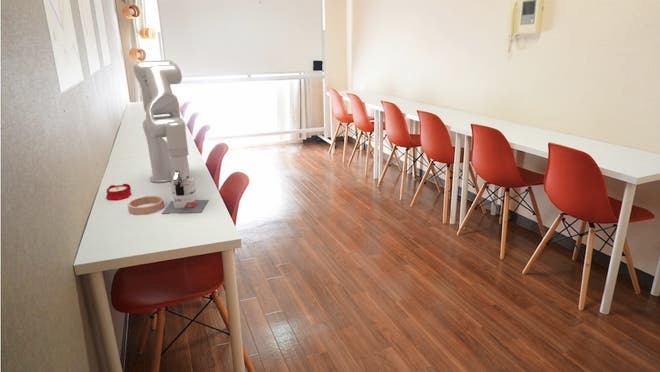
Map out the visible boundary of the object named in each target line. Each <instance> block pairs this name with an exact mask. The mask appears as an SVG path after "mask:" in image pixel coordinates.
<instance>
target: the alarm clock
mask: <svg viewBox="0 0 660 372" xmlns="http://www.w3.org/2000/svg"><path fill="white" fill-rule="evenodd" d="M131 188H132V187H131V185H130V184H129V183H123V184H121V185H119V184H118V185H114V184H112V185H111V184H110V186H109V185H108V188H107V189H106V200H110V201H120V200H124V199H127V198H129V197H131V195H132V192H131V191H132V190H131Z"/></svg>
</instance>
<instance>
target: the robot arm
mask: <svg viewBox="0 0 660 372" xmlns="http://www.w3.org/2000/svg"><path fill="white" fill-rule="evenodd" d="M179 67H180V66H179V65H178V64H176V63H175V62H174V61H172V60H169V59H168V60H143V61H142V60H141V61H138V62H135V63H134V64H133V73H134V76H135V78H136V79H137V81H138V83H139V85H140V88H141V98H142V104H143V110H144V112H145V118H146V119H144V120H143V122H142V128H143V132H144V136H145V138H146V141H147V142H146V143H147V147H148V154H149V161H150V168H151V173H152V176H151V177H149V181H150V182H151V183H155V184H156V183H159V184H161V183H162V184H163V183H168V182H171V181H172V180H173V181H174V184H175V190H176V195H177V196H184V187H183V186H182V184H183V180H185V179H186V178H190V166H189V159H188V156H189V148H188V140H187V131H186V129H187V128H186V127H187V126H186V122H185V121H184V119H183V118H181V113H180V111H181V110H180V103H179V99H178V97H177V96H176V95H175V94H173V90H172V87H171V85H179V84H181V82H183V81H182V80H183V76H182V71H181V69H180V68H179ZM159 115H161V116H159ZM162 115H163V116H162ZM164 138H166V140H165V139H164ZM180 178H181V179H180ZM178 181H181V182H178Z"/></svg>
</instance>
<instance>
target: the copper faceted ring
mask: <svg viewBox="0 0 660 372" xmlns="http://www.w3.org/2000/svg"><path fill="white" fill-rule="evenodd" d="M164 202H165V201H164V198H162V197H161V196H157V195H146V196H141V197H137V198H134V199H131V200H130V201H129V202H128V203H127V208H128V211H129V214H131V215H136V216H137V215H148V214H154V213H157V212H159V211H161V210H162V209H163V208H164V207H165V203H164ZM146 204H151V205H147V206H146ZM140 205H145V206H140Z"/></svg>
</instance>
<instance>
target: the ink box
mask: <svg viewBox="0 0 660 372" xmlns="http://www.w3.org/2000/svg"><path fill="white" fill-rule="evenodd" d="M180 179H181V178H180ZM178 182H181V181H178ZM170 185H171V186H170V187H171V193H172V199H173V200H172V201H174V208H187V207H195V206H196V204H197V200H198V199H197V194H196V192H197V191H196V184H195V178H194V177H189V178H186V179H185V180H183V184H182V186H183V187H184V196H177V195H176V190H175V184H174V181H173V180H172V181H170Z"/></svg>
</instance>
